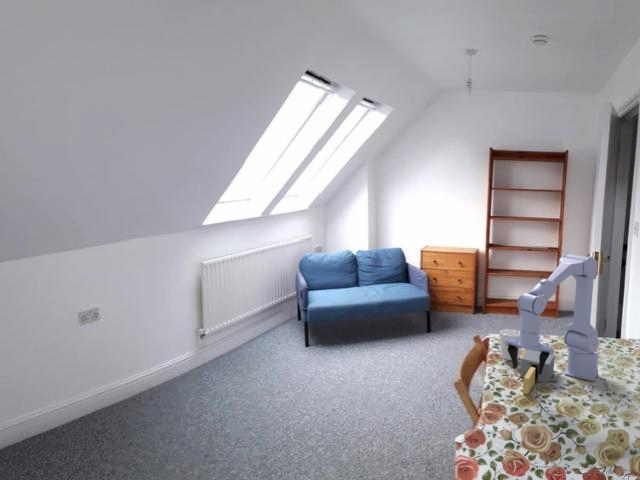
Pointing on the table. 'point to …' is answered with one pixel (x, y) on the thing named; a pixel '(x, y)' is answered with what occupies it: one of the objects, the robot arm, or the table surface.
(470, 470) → the table surface
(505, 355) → the white cup
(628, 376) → the table surface
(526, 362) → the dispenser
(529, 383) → the yellow rectangular block
